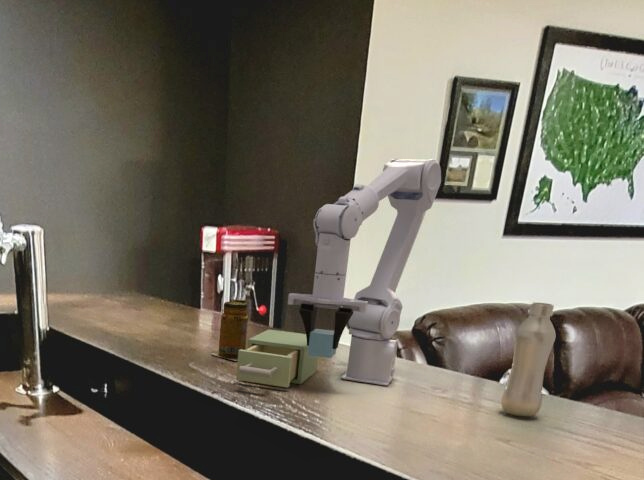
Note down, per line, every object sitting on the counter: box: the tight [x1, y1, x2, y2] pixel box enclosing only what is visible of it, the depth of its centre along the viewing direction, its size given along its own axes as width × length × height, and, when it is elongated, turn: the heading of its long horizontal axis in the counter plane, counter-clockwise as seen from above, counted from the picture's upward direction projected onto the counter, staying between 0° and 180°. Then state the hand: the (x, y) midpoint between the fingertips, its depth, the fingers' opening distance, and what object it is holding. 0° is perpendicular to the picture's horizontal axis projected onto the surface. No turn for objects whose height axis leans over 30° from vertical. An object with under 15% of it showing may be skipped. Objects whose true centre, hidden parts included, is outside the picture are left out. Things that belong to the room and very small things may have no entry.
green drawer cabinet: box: [247, 329, 319, 385], centre depth 150 cm, size 14×12×8 cm
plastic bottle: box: [500, 301, 557, 417], centre depth 128 cm, size 6×7×20 cm
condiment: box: [209, 301, 249, 362], centre depth 162 cm, size 7×8×12 cm
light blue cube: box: [308, 328, 337, 359], centre depth 137 cm, size 4×4×4 cm
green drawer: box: [235, 344, 300, 388], centre depth 140 cm, size 18×10×6 cm, turn 157°
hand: (322, 346), depth 137 cm, fingers closed on light blue cube, 4 cm apart
